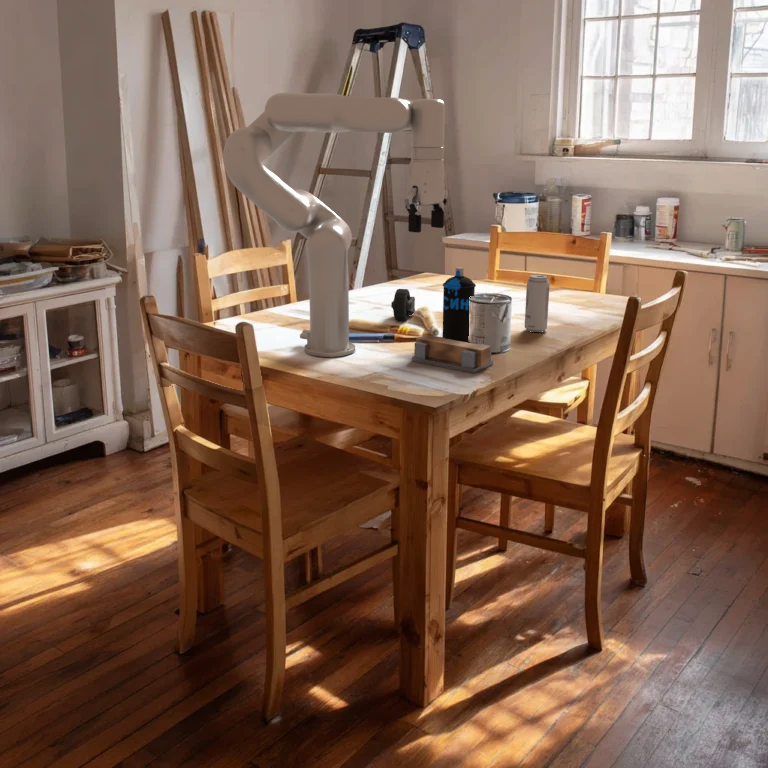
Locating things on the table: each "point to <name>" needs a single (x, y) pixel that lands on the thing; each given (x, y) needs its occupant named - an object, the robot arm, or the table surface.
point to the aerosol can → (457, 306)
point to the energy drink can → (537, 303)
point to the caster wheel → (403, 305)
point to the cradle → (466, 365)
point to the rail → (455, 349)
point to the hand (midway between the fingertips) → (426, 229)
